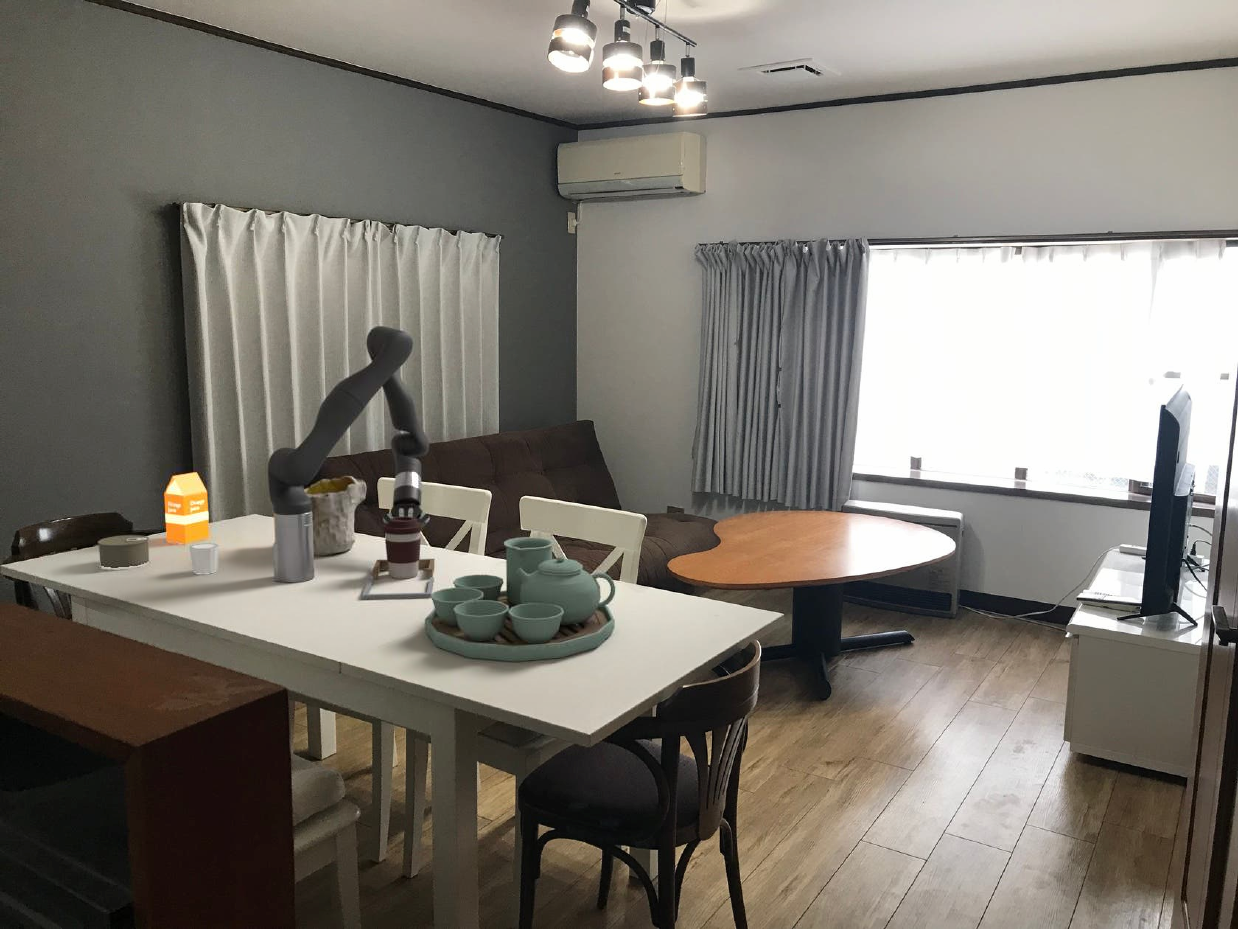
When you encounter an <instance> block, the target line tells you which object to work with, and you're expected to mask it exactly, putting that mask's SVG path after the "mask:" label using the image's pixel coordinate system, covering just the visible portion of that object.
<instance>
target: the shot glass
mask: <svg viewBox="0 0 1238 929" xmlns="http://www.w3.org/2000/svg"><path fill="white" fill-rule="evenodd" d="M189 553H190V554H189V555H190V559H191V565H192V567H191V568H192V573H193V572H195V573H201V574H203V573H204V574H205V573H211V572H216V571H217V572H218V561H219V544H216V543H200V544H198V543H197V544H193V545H190V546H189ZM217 572H216V573H217Z"/></svg>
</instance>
